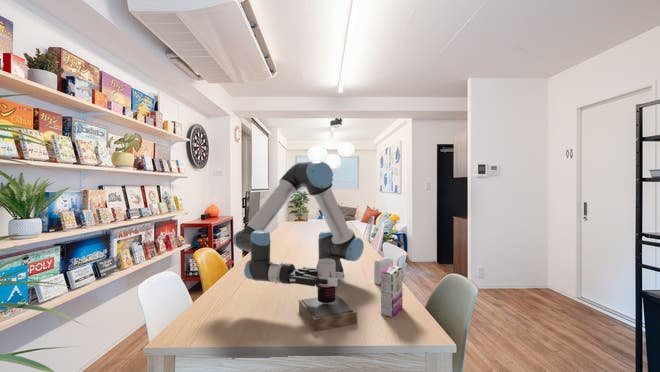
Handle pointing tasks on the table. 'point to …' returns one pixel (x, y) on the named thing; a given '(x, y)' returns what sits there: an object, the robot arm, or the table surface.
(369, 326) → the table surface
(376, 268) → the photo printer
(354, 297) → the table surface
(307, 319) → the walnut stand
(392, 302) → the candy bar box
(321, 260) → the beverage can
